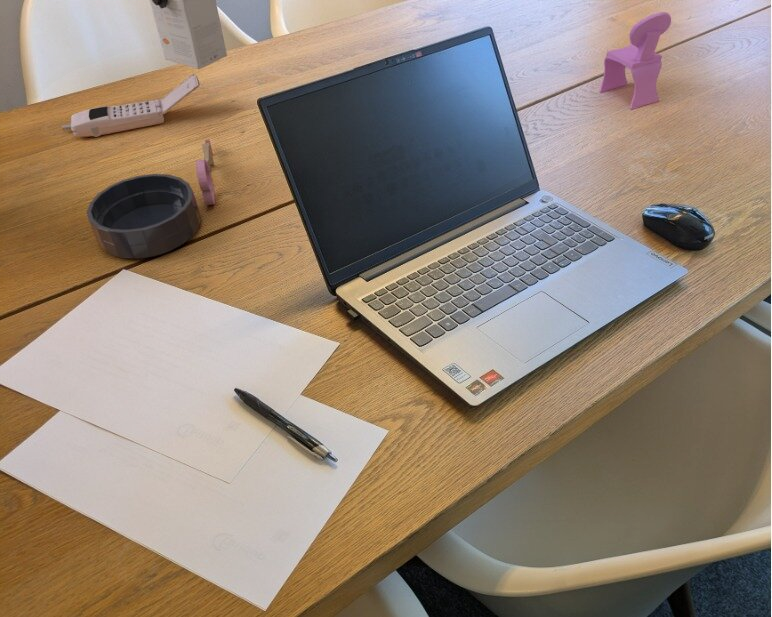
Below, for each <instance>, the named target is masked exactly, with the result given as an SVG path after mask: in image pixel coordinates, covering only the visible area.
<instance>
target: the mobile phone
mask: <svg viewBox="0 0 772 617" xmlns="http://www.w3.org/2000/svg"><path fill="white" fill-rule="evenodd" d="M200 86H201V84H200V81H199V78H198V76H197V75H196V74H194V73H192V74H190V75H189V76H188V77H187V78H185V79H184V80H183V81H182V82H181V83H179V84H178V85H177V86H176V87H175V88H173V89H172V90H170V92H168V93H167V94H166V95H165V96H163V97H162V98H161V99H157V98H155V99H152V100H146V101H139V102H133V103H125V104H121V105H120V104H119V105H113V106H110V105H103V106H98V107H92V108H90V109H89V108H88V109H85V110H82V111H79V112H76V113H73V114H72V115H71V116H70V123H69V124H65V125H62V126H61V129H62V131H67V130H71V131H72V134H73V135H74V137H76V138H77V137H78V138H80V137H83V138H84V137H85V138H86V137H95V138H98V137H100V136H103V135H109V134H115V133H119V132H124V131H130V130H135V129H139V128H145V127H149V126H155V125H160V124H161V125H162V124H164V123H165V118H164V115H165V114H166V113H168V112H169V111H170V110H171V109H172V108H174V107H175V106H176V105H178V104H179V103H180V102H181V101H182V100H184V99H185V98H186V97H188V96H189V95H190V94H191V93H193V92H194V91H196V90H197V89H198V88H199V87H200Z"/></svg>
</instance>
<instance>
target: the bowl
mask: <svg viewBox="0 0 772 617" xmlns="http://www.w3.org/2000/svg"><path fill="white" fill-rule="evenodd" d="M195 196H196V195H195V192H194V190H193V188H192V186H191V184H190V183H189V182H188V181H186V180H184V179H183V178H182V177H179V176H177V175H172V174H166V173H150V174H140V175H136V176H132V177H128V178H125V179H122V180H120V181H118V182H115V183H113V184H111V185H109V186H107V187H106V188H104V189H103V190H102V191H100V192H98V193H97V194H96V195H95V196H94V197H93V199H92V200H91V201H90V202H89V204H88V207H87V210H86V215H87V216H86V217H87V219H88V222H89V224H90V227H91V229H92V231H93V233H94V236H95V238H96V240H97V243H98V245H99V247H100V248H101V249H102V250H103V251H104V252H106V254H108V255H111V256H115V257H118V258H121V259H130V260H131V259H133V260H135V259H136V260H139V259H148V258H154V257H158V256H161V255H164V254H167V253H170V252H171V251H174V250H176V249H178V248H179V247H181V246H182V245H183V244H185V243H186V242H187V241H188V240H190V239H191V238H192V237H193V236H194V235H195V233H196V232H197V230H198V229H199V227H200V222H201V214H200V210H199V207H198V204H197V200H196V197H195Z"/></svg>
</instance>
